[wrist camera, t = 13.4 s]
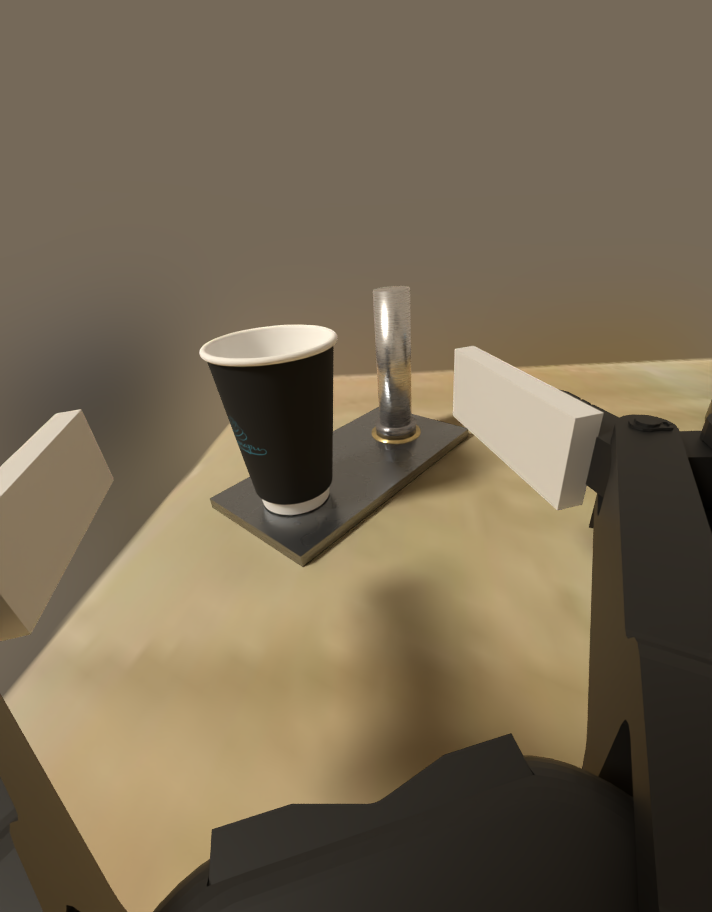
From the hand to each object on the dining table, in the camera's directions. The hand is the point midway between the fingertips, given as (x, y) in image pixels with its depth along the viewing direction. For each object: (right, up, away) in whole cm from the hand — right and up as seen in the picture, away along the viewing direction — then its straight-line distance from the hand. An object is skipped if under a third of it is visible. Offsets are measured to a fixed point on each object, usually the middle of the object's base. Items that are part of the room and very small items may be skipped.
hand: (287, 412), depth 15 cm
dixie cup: (-2, -4, +14) cm, 15 cm away
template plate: (+2, -3, +19) cm, 19 cm away
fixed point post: (+6, 0, +22) cm, 23 cm away
